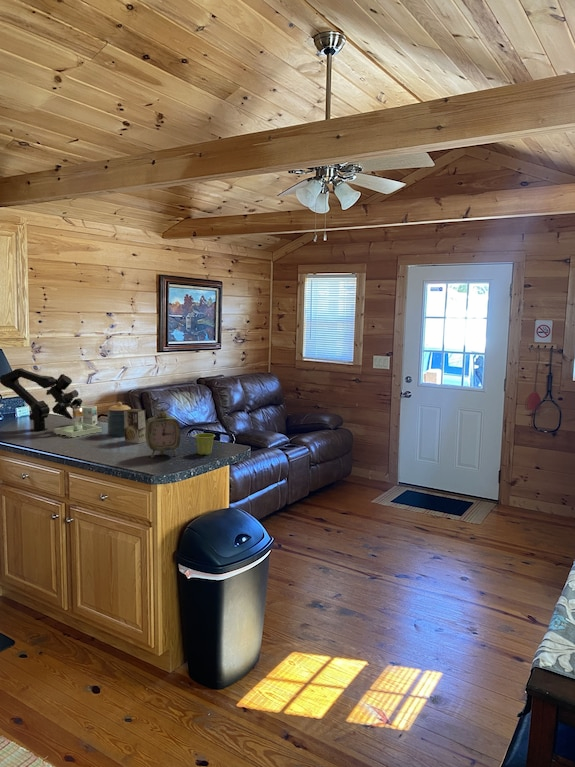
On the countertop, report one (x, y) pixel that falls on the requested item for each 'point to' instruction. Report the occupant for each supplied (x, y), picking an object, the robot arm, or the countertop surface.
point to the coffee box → (135, 425)
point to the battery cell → (77, 418)
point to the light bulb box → (89, 415)
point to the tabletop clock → (162, 432)
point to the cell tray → (69, 431)
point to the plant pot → (204, 443)
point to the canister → (116, 420)
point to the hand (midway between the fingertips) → (77, 417)
